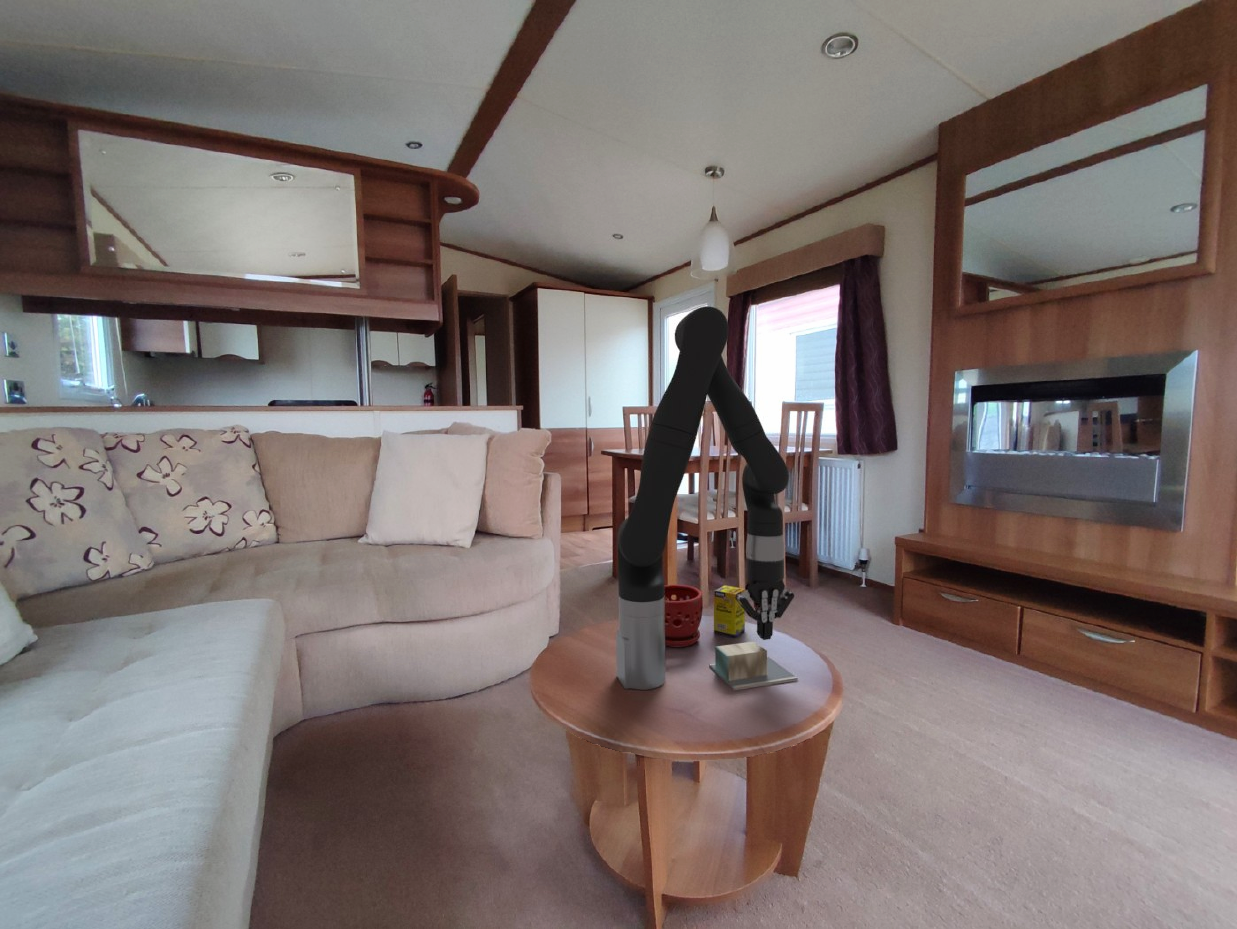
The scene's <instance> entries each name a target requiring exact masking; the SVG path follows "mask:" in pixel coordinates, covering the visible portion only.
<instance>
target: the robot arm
mask: <svg viewBox="0 0 1237 929" xmlns="http://www.w3.org/2000/svg"><path fill="white" fill-rule="evenodd" d="M729 333H730V326H729V323H728V319H727V317H726V315H725V314H724V312H723V311H722V310H720V309H719V308H718V307H716V306H712V305H704V306H700V307H697V308H695V309H693V310H692V311H690V312H689V313H688V314H687V315H685V316H684V317H683V318H682V319H681V320H680V321H679V322H678V324H677V325H676V327H675V329H674V343H675V346H676V347H677V349H678V350H679V353H678V357H677V362H676V366H675V369H674V372H673V375H672V377H671V380H670V382H669V383H668V386H667V387H666V389H665V391H664V392H663V395H662V397H661V399H660V402H659V404H658V405H657V407H656V409H655V412H654V415H653V418H652V419H651V424H650V426H649V430H648V433H647V434H648V435H647V437H646V442H645V445H644V450H643V454H642V462H641V467H640V468H641V469H640V476H639V484H638V489H637V493H636V497H635V500H634V501H633V505H632V508H631V510H630V513H629V516H628V517H627V518H625V519H624V520H623V521H622V522H621V524H620V526H619V528H618V532H617V580H618V581H617V583H618V586H617V587H618V629H617V630H616V632H615V633H616V634H615V635H616V636H615V638H616V643H615V644H616V647H615V648H616V676H617V678H618V680H619V681H620V683H621V684H622V687H623V688H624V689H634V690H652V689H656V688H659V687H661V686H662V685H663V684H664V683H665V681H666V645H665V600H666V597H665V585H666V584H665V578H664V577H665V576H664V567H663V566H664V565H663V563H664V561H663V553H664V552H665V549H666V546H667V541H668V534H669V528H670V522H671V519H672V513H673V510H674V509H673V508H674V506H675V505H674V504H675V501H676V498H677V495H678V492H679V490H680V486H681V484H682V482H683V478H684V476H685V473H686V470H687V467H688V466H689V462H690V459H691V457H692V453H693V449H694V446H695V443H696V440H697V436H698V432H699V430H700V429H699V427H700V424H701V421H702V416H703V414H704V410H705V407H706V406H705V405H706V402H707V397H708V398H709V400H710V402H711V404H712V407H713V408H714V410H715V413H716V414H717V417H718V419H719V421H720V423H721V425H722V427H723V429H724V432H725V435H726V436H727V439H728V441H729V442H730V445H731V447H732V448H733V450H734V452H735V453H736V454H738V455H740V456H741V457H742V458H743V459H744V460H745V462H746V465H745V466H744V469H743V472H742V478H741V483H742V491H743V497H744V502H745V506H746V510H747V534H746V535H747V536H746V538H747V539H746V543H745V546H746V547H745V553H746V554H745V557H746V560H745V561H746V562H745V563H746V564H745V565H746V567H745V569H746V571H745V572H746V576H745V577H746V584H745V585H744V586H745V587H744V589H745V591H744V592H743V593H742V594H741V595H736V597H735V599H736V600H737V601H738V603H739V604H740V605H741V607H742V608H743V609H744V610H745V613H746V614H747V616H748V617H749V618H751V619H753V620H755V621H756V634H757V635H758V637H759V638H760V639H761V640H762V641H766V640H767V641H768V640H771V638H772V636H773V634H774V633H773V632H774V629H773V628H774V627H773V626H774V621H775V619H777V618H778V619H780V618H782V616H784V614H785V611H786V610H787V609H788V607H789V605H790V604H791V602H792V601H793V599H794V597H795V593H793V592H792V591H790V590H788V589H787V588H786V585H785V583H784V578H785V542H784V515H783V510H782V508H781V507H780V506H779V505H777V503H776V499H775V495H777V494H780V493H782V492H783V491H784V490H785V489H787V487H788V485H789V480H790V475H789V469H788V466H787V464H786V462H785V460H784V458H783V456H781V454H780V453H779V451H778V450H777V448H776V447H775V445H774V443H772V442H771V440H770V439H769V438H768V436H767V435H766V433H765V429H764V428H763V425H762V423H761V421H760V419H759V416H758V414H757V412H756V410H755V408H754V407H753V405H752V403H751V402H750V399H749V398H748V397H747V395H746V394H745V393H744V391H743V390H742V389H741V387H740V386H739V384H738V383H737V382H736V381H735V379H734V378H733V377H732V374H731V372H729V369H728V368H727V365H726V364H725V361H724V359H723V356H722V354H723V352H724V349H725V348H726V346H727V341H728V339H729V336H730V335H729ZM751 601H752V602H753V606H752V605H751V604H750V603H751Z"/></svg>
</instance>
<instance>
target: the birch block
mask: <svg viewBox="0 0 1237 929" xmlns="http://www.w3.org/2000/svg"><path fill="white" fill-rule="evenodd" d="M714 648H715V650H714V651H715V654H714V655H715V658H714V659H715V662H714V663H715V670H716V671H717V672H718V673H719V674H720V675H721V676H722V677H723V678H724V679H725V680H726V681H731V680H737V679H744V678H750V677H757V676H763V675H767V656H768V650H766V649H765V648H764V647H762V646H761V645H760V644H758V643H757V642H755V641H747V642H740V643H732V644H725V645H719V646H718V645H717V646H715V647H714Z"/></svg>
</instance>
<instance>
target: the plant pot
mask: <svg viewBox="0 0 1237 929" xmlns="http://www.w3.org/2000/svg"><path fill="white" fill-rule="evenodd" d="M672 596H675V597H676V598H674V599H673V598H672ZM687 597H689V598H687ZM665 598H667V600H666V599H665V647H666V646H667V647H671V648H683V647H688V646H692V645H693V644H695V643H696V642H697V641H699V639H700V637H701V632H700V630H699V627H700V625H701V621H702V617H703V608H704V606H703V604H704V600H703V592H702V591H701V590H700V589H699V588H696V587H694V586H691V585H686V584H667V585H666V584H665ZM681 599H682V600H681Z"/></svg>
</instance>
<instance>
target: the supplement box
mask: <svg viewBox="0 0 1237 929" xmlns="http://www.w3.org/2000/svg"><path fill="white" fill-rule="evenodd" d="M744 591H745V588H742V587H736V586H730V585H725V584H724V585H723V586H721V587H718V588H716V589H713V633H714V634H717V635H721V636H725V637H730V638H737V637H738V636H739V635H741V634H742V633H744V632H745V631H746V627H745V623H746V618H745V617H746V614H745V613H746V612H745V610H744V609H743V608H742V607H741V605H740V604H739V603H738V601H737V600H736V599H735V597H736V595H741V594H742V593H743V592H744Z"/></svg>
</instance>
